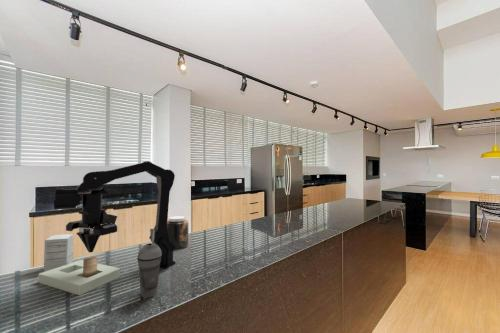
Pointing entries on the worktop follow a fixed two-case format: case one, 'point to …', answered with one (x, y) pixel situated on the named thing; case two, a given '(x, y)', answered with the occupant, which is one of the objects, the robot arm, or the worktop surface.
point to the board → (77, 277)
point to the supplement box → (58, 251)
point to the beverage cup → (149, 268)
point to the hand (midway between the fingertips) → (90, 252)
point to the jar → (178, 231)
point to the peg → (89, 267)
